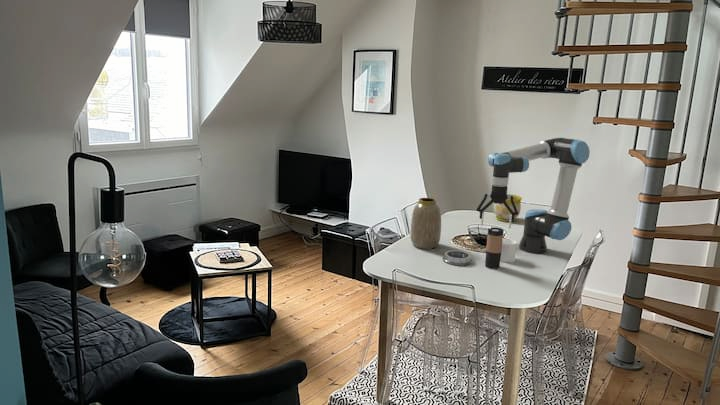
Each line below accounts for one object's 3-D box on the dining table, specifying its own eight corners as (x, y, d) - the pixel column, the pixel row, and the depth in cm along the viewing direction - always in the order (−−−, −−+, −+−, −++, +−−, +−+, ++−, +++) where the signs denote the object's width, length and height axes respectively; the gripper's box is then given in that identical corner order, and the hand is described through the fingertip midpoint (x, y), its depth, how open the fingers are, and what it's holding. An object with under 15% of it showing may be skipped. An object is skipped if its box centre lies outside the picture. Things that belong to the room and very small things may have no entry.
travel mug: (500, 270, 266) (504, 232, 261) (484, 268, 267) (488, 230, 263) (499, 264, 273) (503, 228, 268) (484, 263, 274) (487, 226, 270)
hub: (472, 258, 282) (472, 251, 282) (471, 267, 268) (471, 260, 267) (444, 254, 286) (444, 248, 285) (441, 263, 272) (442, 257, 271)
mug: (509, 264, 275) (511, 245, 272) (491, 259, 281) (493, 241, 279) (519, 258, 284) (521, 240, 282) (502, 254, 290) (504, 236, 288)
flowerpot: (493, 222, 356) (495, 198, 352) (491, 215, 374) (493, 193, 370) (520, 224, 353) (523, 200, 350) (517, 217, 371) (520, 194, 367)
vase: (443, 243, 306) (446, 198, 300) (434, 251, 291) (437, 204, 284) (415, 239, 313) (418, 195, 307) (405, 246, 298) (408, 200, 291)
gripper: (525, 185, 261) (521, 226, 266) (474, 181, 267) (471, 222, 271) (526, 188, 254) (521, 230, 259) (473, 184, 260) (470, 225, 264)
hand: (495, 226), depth 265 cm, fingers open, 13 cm apart
